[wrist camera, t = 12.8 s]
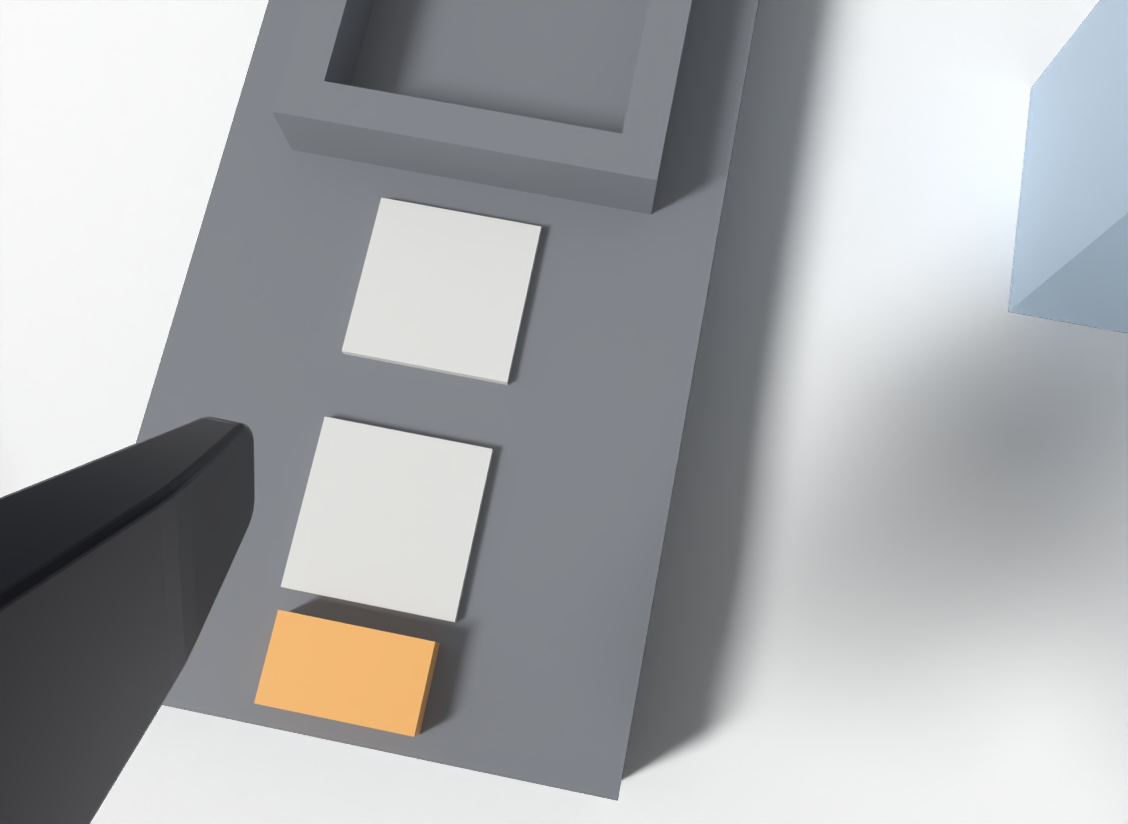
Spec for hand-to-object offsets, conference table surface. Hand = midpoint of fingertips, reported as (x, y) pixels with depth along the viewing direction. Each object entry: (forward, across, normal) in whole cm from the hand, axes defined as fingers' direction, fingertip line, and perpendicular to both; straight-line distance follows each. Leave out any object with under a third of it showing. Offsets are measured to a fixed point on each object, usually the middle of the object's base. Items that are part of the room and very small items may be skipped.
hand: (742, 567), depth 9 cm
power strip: (+14, +5, +4) cm, 15 cm away
